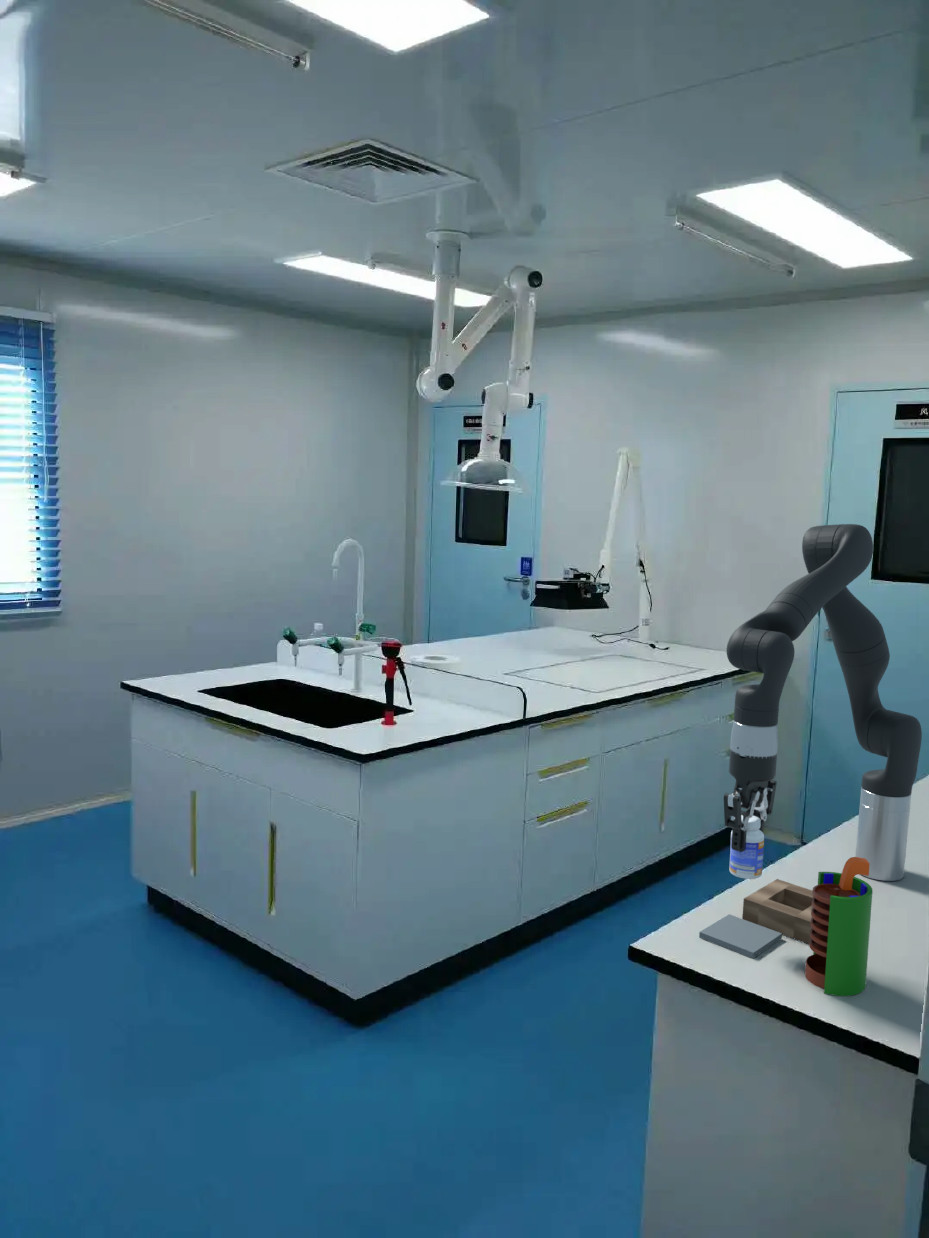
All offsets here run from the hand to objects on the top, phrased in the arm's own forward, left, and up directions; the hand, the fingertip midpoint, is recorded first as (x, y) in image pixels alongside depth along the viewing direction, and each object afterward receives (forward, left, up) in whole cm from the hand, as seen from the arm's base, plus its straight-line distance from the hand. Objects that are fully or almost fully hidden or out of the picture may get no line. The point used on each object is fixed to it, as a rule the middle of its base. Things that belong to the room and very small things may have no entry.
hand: (746, 845), depth 163 cm
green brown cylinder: (+2, +17, -17) cm, 24 cm away
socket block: (-13, +3, -17) cm, 21 cm away
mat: (0, 0, -17) cm, 17 cm away
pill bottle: (0, 0, -5) cm, 5 cm away
